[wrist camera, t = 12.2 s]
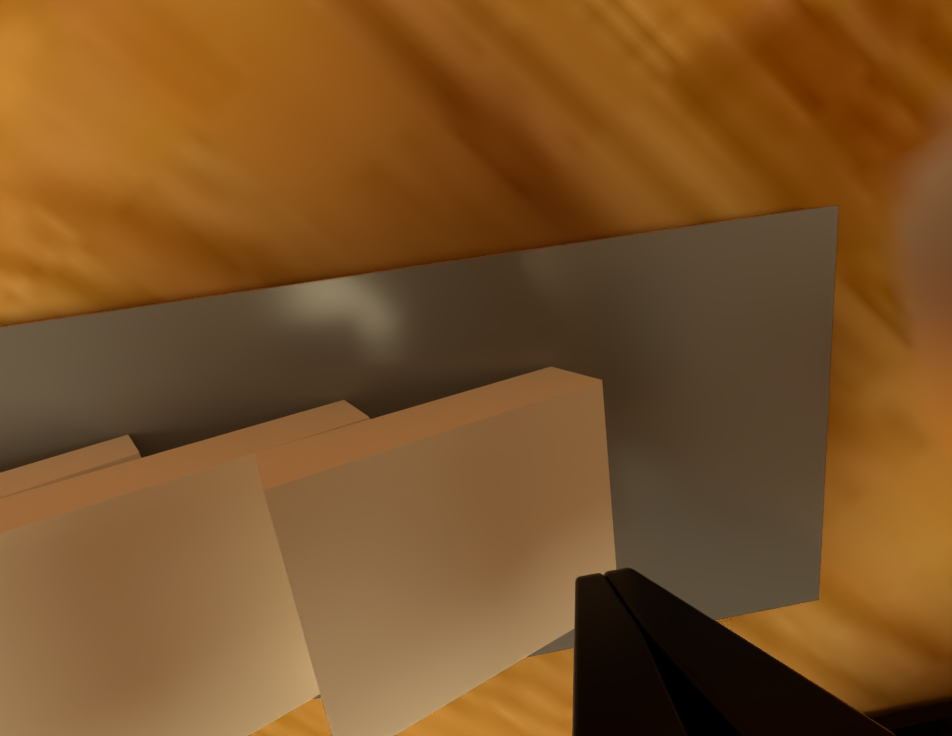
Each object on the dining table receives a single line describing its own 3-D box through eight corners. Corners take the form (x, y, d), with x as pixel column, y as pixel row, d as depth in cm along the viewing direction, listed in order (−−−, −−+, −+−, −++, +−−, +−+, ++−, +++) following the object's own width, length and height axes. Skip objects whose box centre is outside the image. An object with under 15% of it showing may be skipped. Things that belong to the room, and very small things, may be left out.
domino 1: (369, 417, 9) (-92, 563, 6) (415, 638, 10) (54, 848, 7) (343, 399, 10) (-43, 510, 7) (387, 597, 11) (73, 759, 8)
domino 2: (602, 380, 9) (263, 489, 6) (618, 601, 10) (340, 768, 8) (551, 366, 10) (255, 452, 8) (570, 563, 12) (321, 693, 9)
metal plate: (802, 209, 11) (838, 205, 10) (791, 574, 14) (818, 599, 13) (-704, 429, 9) (-836, 449, 8) (-398, 803, 12) (-471, 852, 11)
